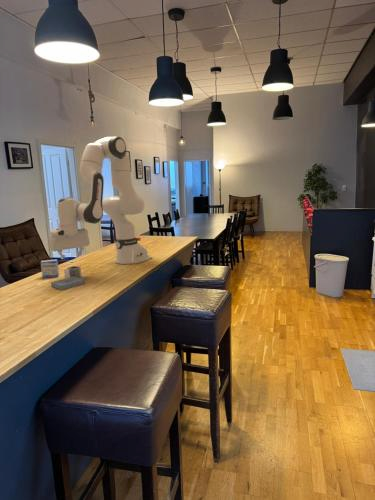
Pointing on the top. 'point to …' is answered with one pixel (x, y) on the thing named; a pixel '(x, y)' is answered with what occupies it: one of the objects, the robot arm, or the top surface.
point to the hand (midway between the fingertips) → (71, 257)
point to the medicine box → (49, 268)
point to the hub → (75, 271)
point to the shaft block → (67, 281)
